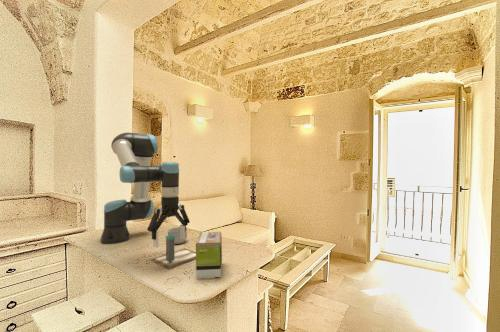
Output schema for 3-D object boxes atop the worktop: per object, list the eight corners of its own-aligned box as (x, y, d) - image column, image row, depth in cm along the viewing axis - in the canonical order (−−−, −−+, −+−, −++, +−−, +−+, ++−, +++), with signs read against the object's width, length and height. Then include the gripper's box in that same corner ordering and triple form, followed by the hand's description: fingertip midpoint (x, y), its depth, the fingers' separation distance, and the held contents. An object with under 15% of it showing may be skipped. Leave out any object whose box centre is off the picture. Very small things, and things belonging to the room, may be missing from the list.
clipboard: (149, 259, 113) (149, 257, 113) (183, 248, 128) (183, 246, 128) (168, 269, 103) (168, 266, 103) (203, 256, 118) (203, 253, 118)
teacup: (181, 246, 132) (181, 231, 132) (163, 245, 134) (163, 230, 134) (192, 238, 146) (192, 225, 146) (176, 237, 148) (176, 224, 148)
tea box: (200, 263, 109) (200, 231, 109) (222, 263, 110) (222, 231, 110) (195, 279, 94) (195, 242, 94) (221, 278, 95) (221, 241, 95)
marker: (165, 262, 108) (165, 236, 108) (171, 260, 110) (171, 234, 110) (169, 264, 107) (169, 237, 106) (174, 262, 109) (174, 235, 109)
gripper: (147, 200, 96) (147, 252, 97) (197, 194, 116) (196, 237, 116) (138, 198, 101) (138, 248, 101) (187, 192, 120) (187, 234, 121)
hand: (169, 242), depth 109 cm, fingers open, 13 cm apart
